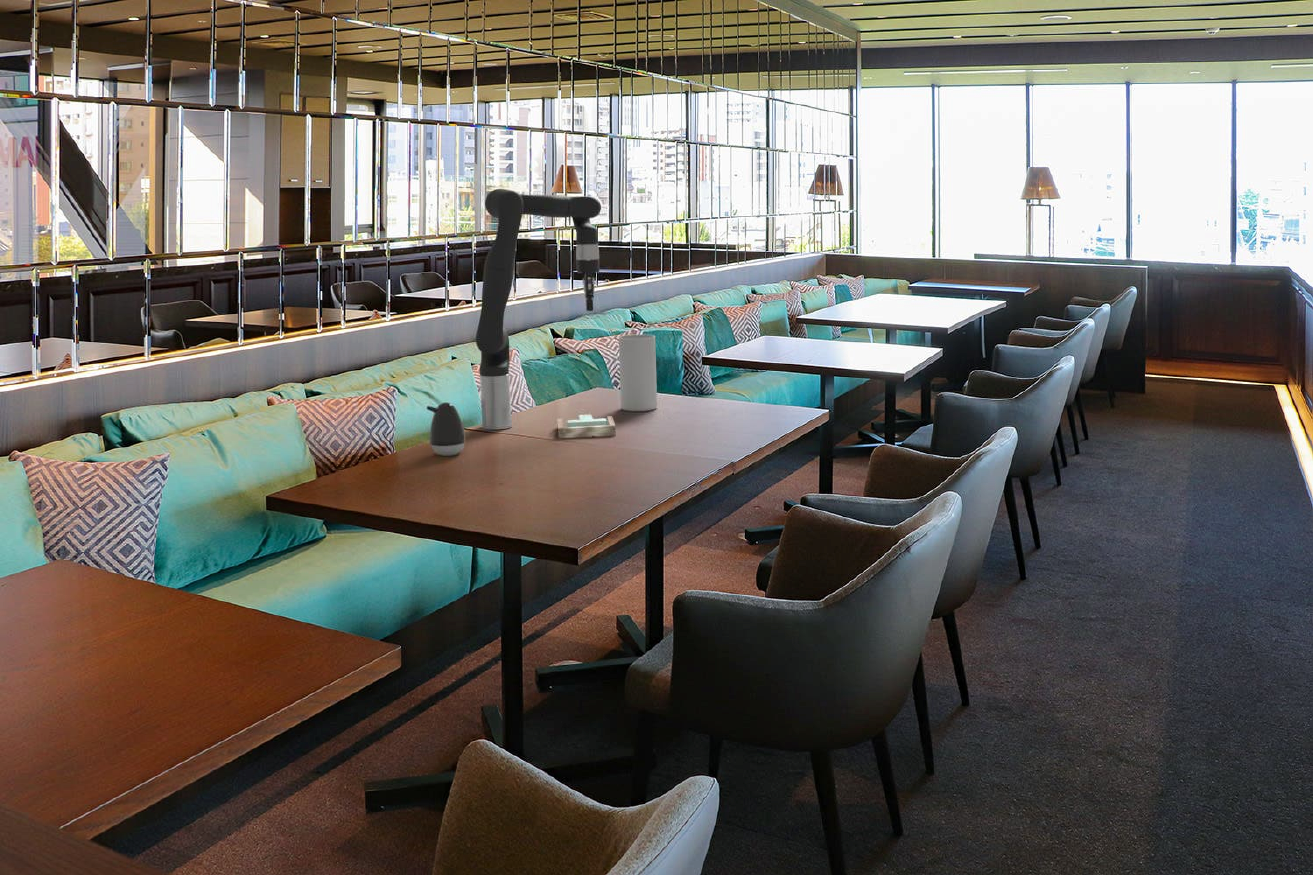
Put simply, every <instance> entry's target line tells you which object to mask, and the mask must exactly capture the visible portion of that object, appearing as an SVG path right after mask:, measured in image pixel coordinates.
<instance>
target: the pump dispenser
mask: <svg viewBox="0 0 1313 875" xmlns="http://www.w3.org/2000/svg"><path fill="white" fill-rule="evenodd" d="M426 410H427V411H430V412H432V413H433V416H432V418H431V423H430V427H429V444H430V445H431V446H430V447H431V449H432V450H433V452H434V453H436V454H437V455H438V456H441V455H442V457H451V456H452V455H453V456H457V455H458V454H459V453H461V452H462V451H463V450H464V446H465V442H466V433H465V429H464V428H465V427H464V424H463V421H462V418H461V417H460V414H459V413H458V410H457V408H456V407H455V406H454V404H452V403H450V402H442V403H440V404H438V405H437V407H434V406H430V405H427V406H426Z"/></svg>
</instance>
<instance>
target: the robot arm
mask: <svg viewBox="0 0 1313 875" xmlns="http://www.w3.org/2000/svg"><path fill="white" fill-rule="evenodd" d="M484 208H485V210H486V211H487V213H488V214H489V215H490V216H491V217H493V218H495V219H497V229H496V230H497V232H496V236H495V239H494V241H493V243H492V245H491V247H490V249H489V251H488V253H487V254H486V258H485V261H484V267H483V275H482V276H483V277H482V288H481V290H482V291H481V308H480V316H479V320H478V326H477V329H476V335H475V343H476V347H477V349H478V350H479V351H480V353H481V354H480V356H481V358H480V365H479V383H480V396H481V397H480V398H481V400H480V404H481V405H480V408H481V409H480V410H481V423H482V430H491V431H492V430H495V431H497V430H506V429H509V428H511V427H512V426H513V425H512V408H511V407H512V406H511V390H510V389H511V387H510V385H511V384H510V369H509V368H510V361H511V358H510V357H511V355H510V338H509V333H508V330H507V329H506V328H505V327H504V320H505V319H504V317H505V312H506V311H505V310H506V307H507V303H508V301H509V297H510V295H511V290H512V286H513V281H514V273H515V272H514V271H515V263H516V262H515V260H516V254H517V245H518V237H519V233H520V232H519V231H520V227H521V223H522V219H523V218H522V217H523V215H528V216H529V215H530V216H537V217H543V218H544V217H545V218H559V219H562V218H571V219H572V222H573V226H574V230H575V234H576V235H575V236H576V237H575V238H576V241H575V242H576V250H575V253H576V254H575V256H576V272H577V273H578V274H584V278H582V286H583V292H584V298H585V303H586V304H585V306H586V308H585V309H586V311H588V312H592V311H594V296H595V295H594V293H595V284H596V279H595V277H593V274H597V273H599V272H600V250H599V240H598V239H599V236H598V229H597V227H596V226H594V225H592V224H591V219H594V218H596V217H597V216H599V214H600V213H601V210H602V204H601V202H600V200H599V199H598V198H596V197H595V196H593V195H592V196H591V195H589V196H588V195H587V196H583V195H582V196H579V195H578V196H571V195H570V196H569V195H564V194H563V195H562V194H560V195H558V194H524V193H523V194H522V193H519V192H517V191H515V190H512V189H505V188H496V189H493V190H491V191H490V192H489V193H488V194H487V195H486V197H485V200H484Z"/></svg>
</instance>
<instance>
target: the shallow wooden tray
mask: <svg viewBox="0 0 1313 875" xmlns="http://www.w3.org/2000/svg"><path fill="white" fill-rule="evenodd" d="M606 420H607V425H604V426H583V427H568V426H567V427H564V423H563V418H561V417H560V418H557V434H558V438H559V439H567V438H568V439H569V438H573V439H574V438H590V437H592V436H595V437H610V436H611V437H612V436H616V424H615V421H614V419H613V416H612V415H608V416H606ZM592 438H593V437H592Z"/></svg>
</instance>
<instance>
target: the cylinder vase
mask: <svg viewBox="0 0 1313 875" xmlns="http://www.w3.org/2000/svg"><path fill="white" fill-rule="evenodd" d="M656 353H657V352H656V336H655V335H652V334H626V335H620V336H619V337H618V354H619V356H618V359H619V360H618V361H619V382H620V383H619V384H620V385H619V387H620V390H619V391H620V393H619V394H620V408H621V410H623V411H626V412H648V411H649V412H650V411H653V410H656V409H657V407H658V396H657V395H658V394H657V392H658V390H657V360H656V359H657V357H656V355H657V354H656Z"/></svg>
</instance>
